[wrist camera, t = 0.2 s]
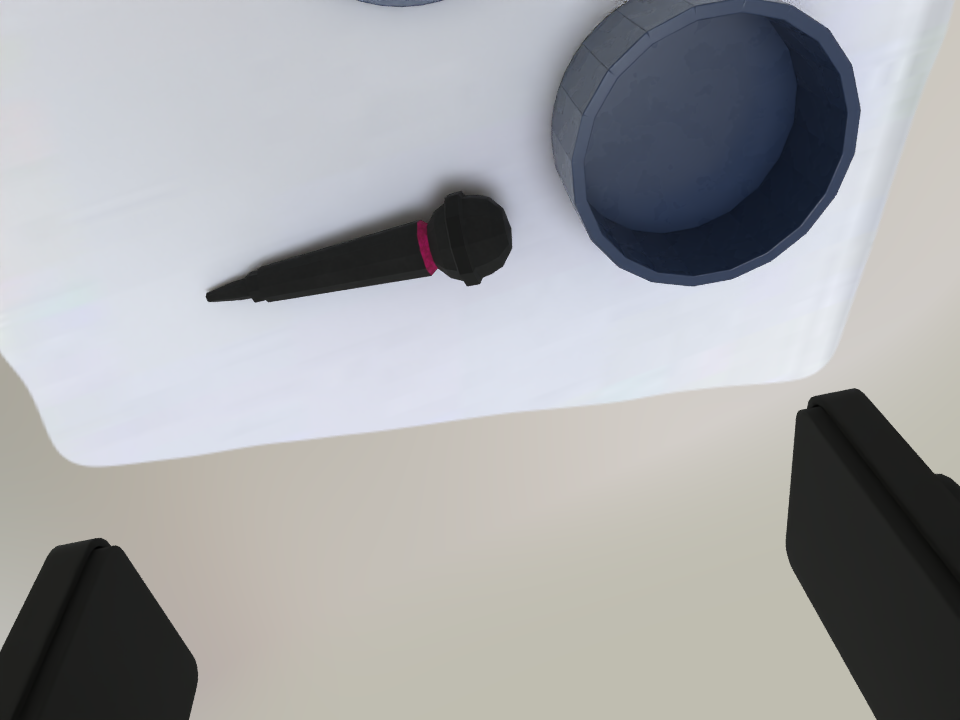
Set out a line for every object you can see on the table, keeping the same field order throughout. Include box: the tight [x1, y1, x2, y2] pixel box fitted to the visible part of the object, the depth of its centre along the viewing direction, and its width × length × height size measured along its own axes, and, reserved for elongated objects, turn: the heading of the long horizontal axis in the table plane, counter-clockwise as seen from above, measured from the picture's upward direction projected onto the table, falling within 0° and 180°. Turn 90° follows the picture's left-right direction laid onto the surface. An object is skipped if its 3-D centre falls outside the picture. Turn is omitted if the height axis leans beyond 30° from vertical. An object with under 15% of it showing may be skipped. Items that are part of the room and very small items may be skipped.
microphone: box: [206, 191, 512, 302], centre depth 46 cm, size 6×6×20 cm
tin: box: [552, 0, 861, 286], centre depth 43 cm, size 15×15×6 cm
